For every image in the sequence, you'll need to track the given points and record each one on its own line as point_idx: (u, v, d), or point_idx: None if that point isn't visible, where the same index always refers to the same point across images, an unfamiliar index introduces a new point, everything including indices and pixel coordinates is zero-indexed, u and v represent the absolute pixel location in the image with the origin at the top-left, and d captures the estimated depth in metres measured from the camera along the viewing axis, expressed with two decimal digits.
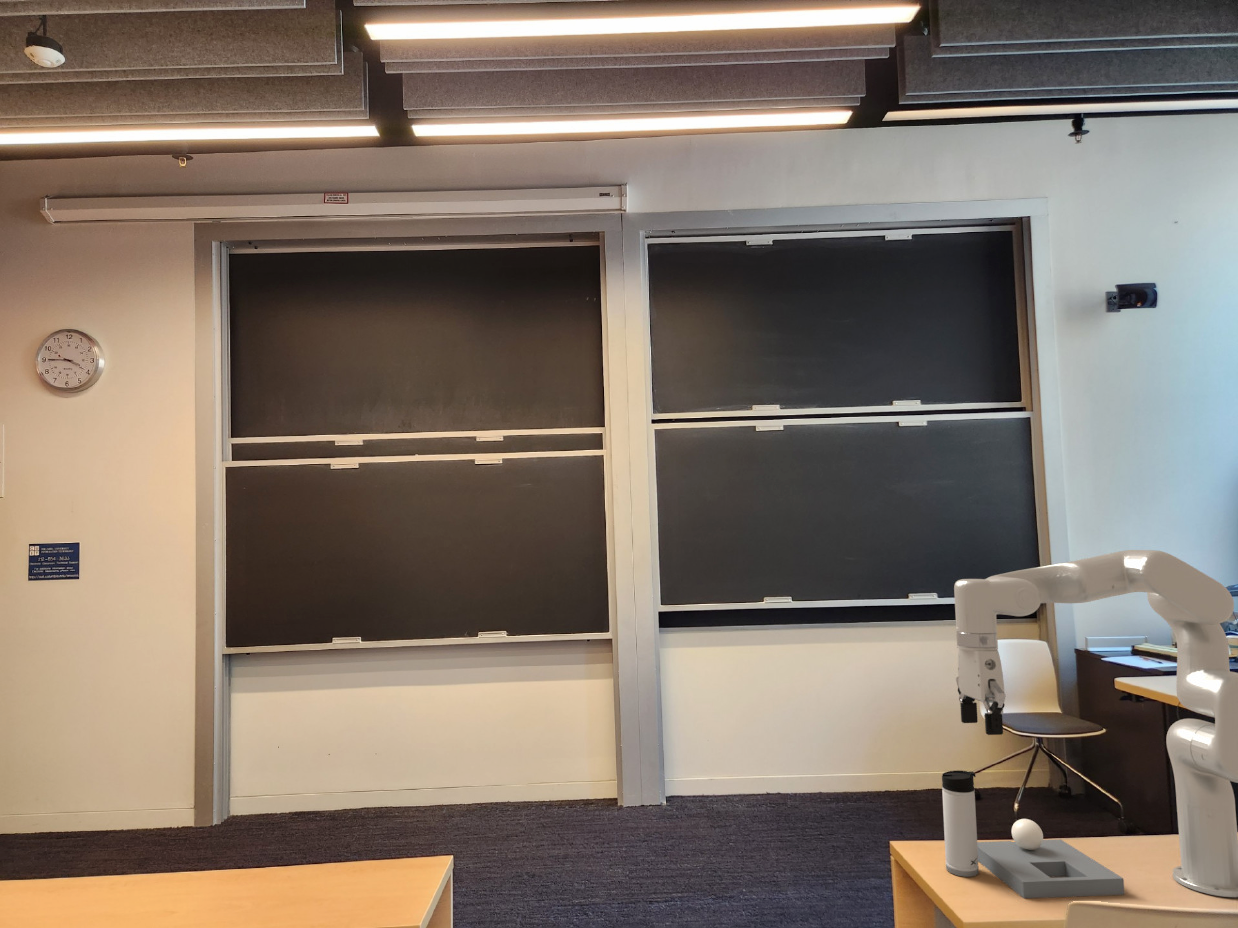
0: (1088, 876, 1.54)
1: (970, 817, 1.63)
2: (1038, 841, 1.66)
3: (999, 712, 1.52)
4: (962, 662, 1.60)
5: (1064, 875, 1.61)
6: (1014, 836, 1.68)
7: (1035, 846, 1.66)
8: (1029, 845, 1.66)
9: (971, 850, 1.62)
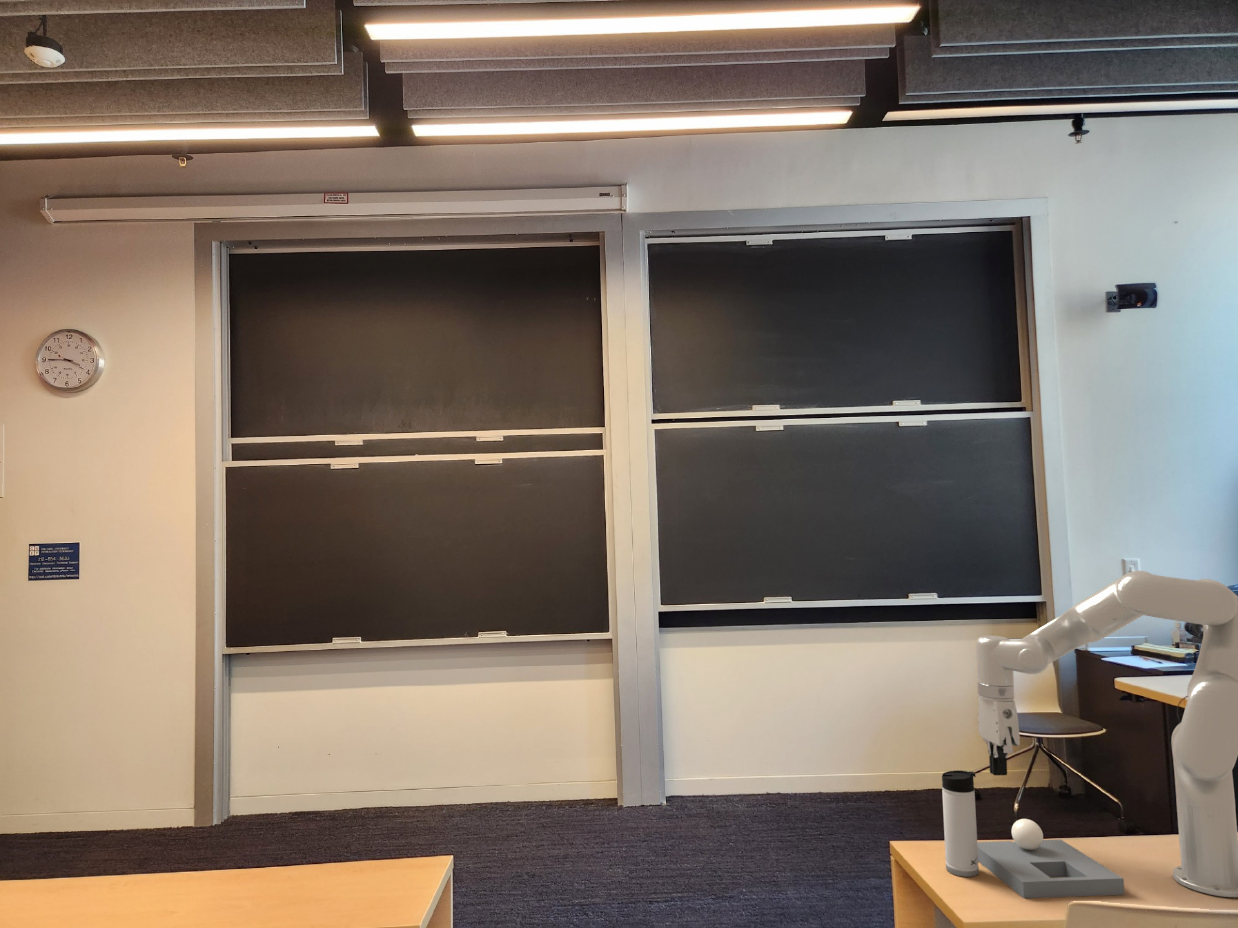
0: (1088, 876, 1.54)
1: (970, 817, 1.63)
2: (1038, 841, 1.66)
3: None
4: (982, 709, 1.81)
5: (1064, 875, 1.61)
6: (1014, 836, 1.68)
7: (1035, 846, 1.66)
8: (1029, 845, 1.66)
9: (971, 850, 1.62)
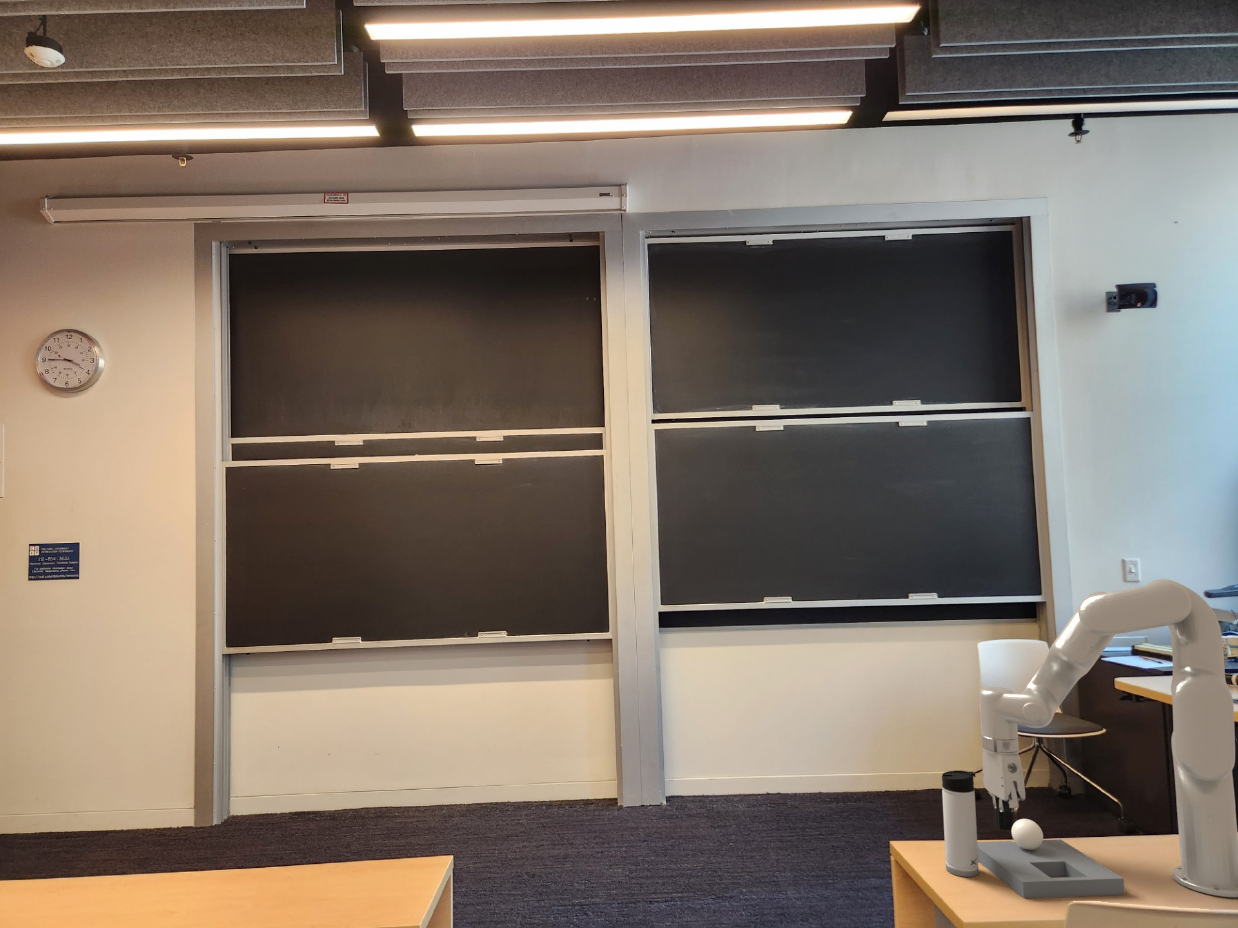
0: (1088, 876, 1.54)
1: (970, 817, 1.63)
2: (1038, 841, 1.66)
3: None
4: (987, 762, 1.80)
5: (1064, 875, 1.61)
6: (1014, 836, 1.68)
7: (1035, 846, 1.66)
8: (1029, 845, 1.66)
9: (971, 850, 1.62)
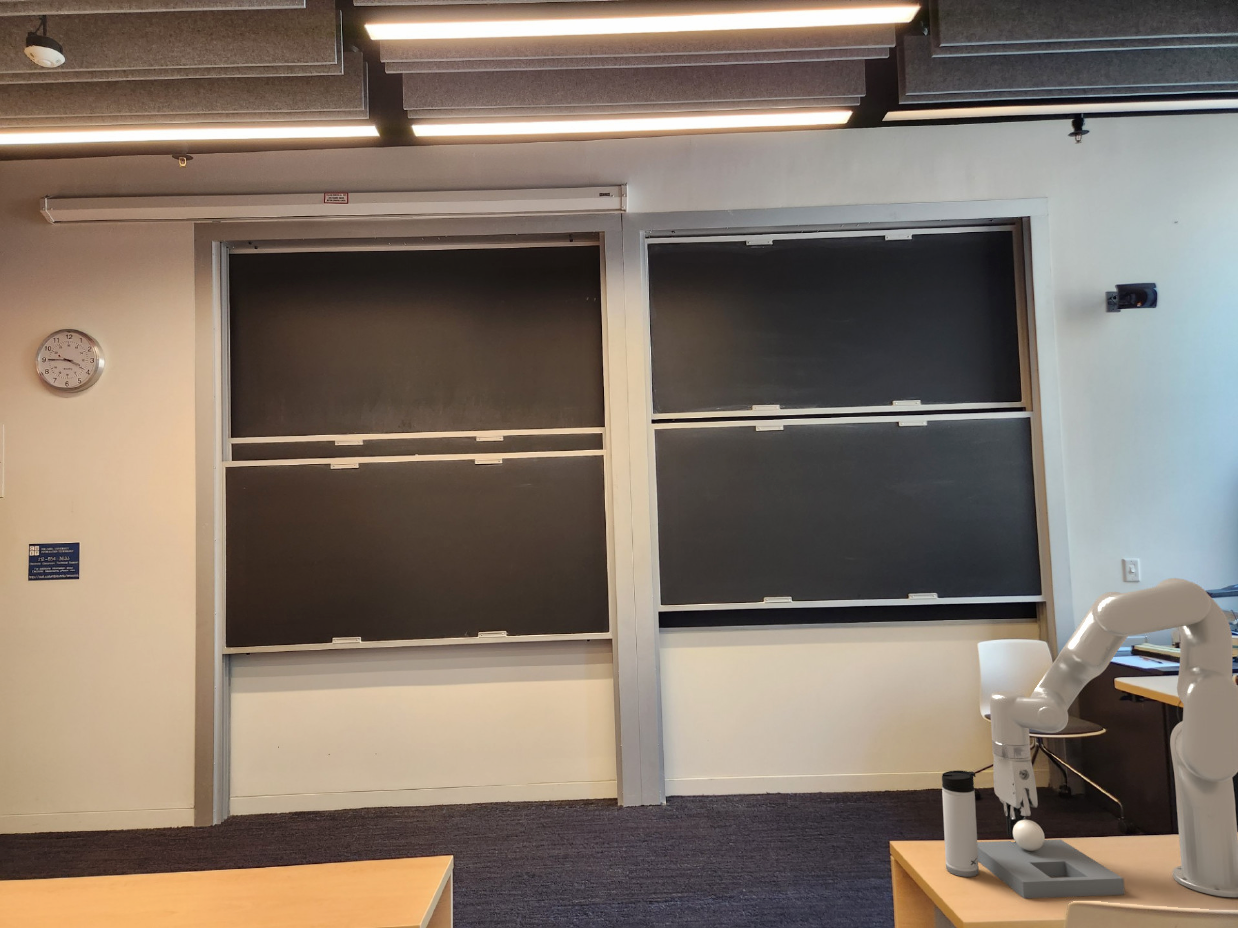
0: (1088, 876, 1.54)
1: (970, 817, 1.63)
2: (1040, 843, 1.65)
3: None
4: (998, 768, 1.75)
5: (1064, 875, 1.61)
6: (1015, 837, 1.68)
7: (1036, 848, 1.65)
8: (1030, 846, 1.66)
9: (971, 850, 1.62)
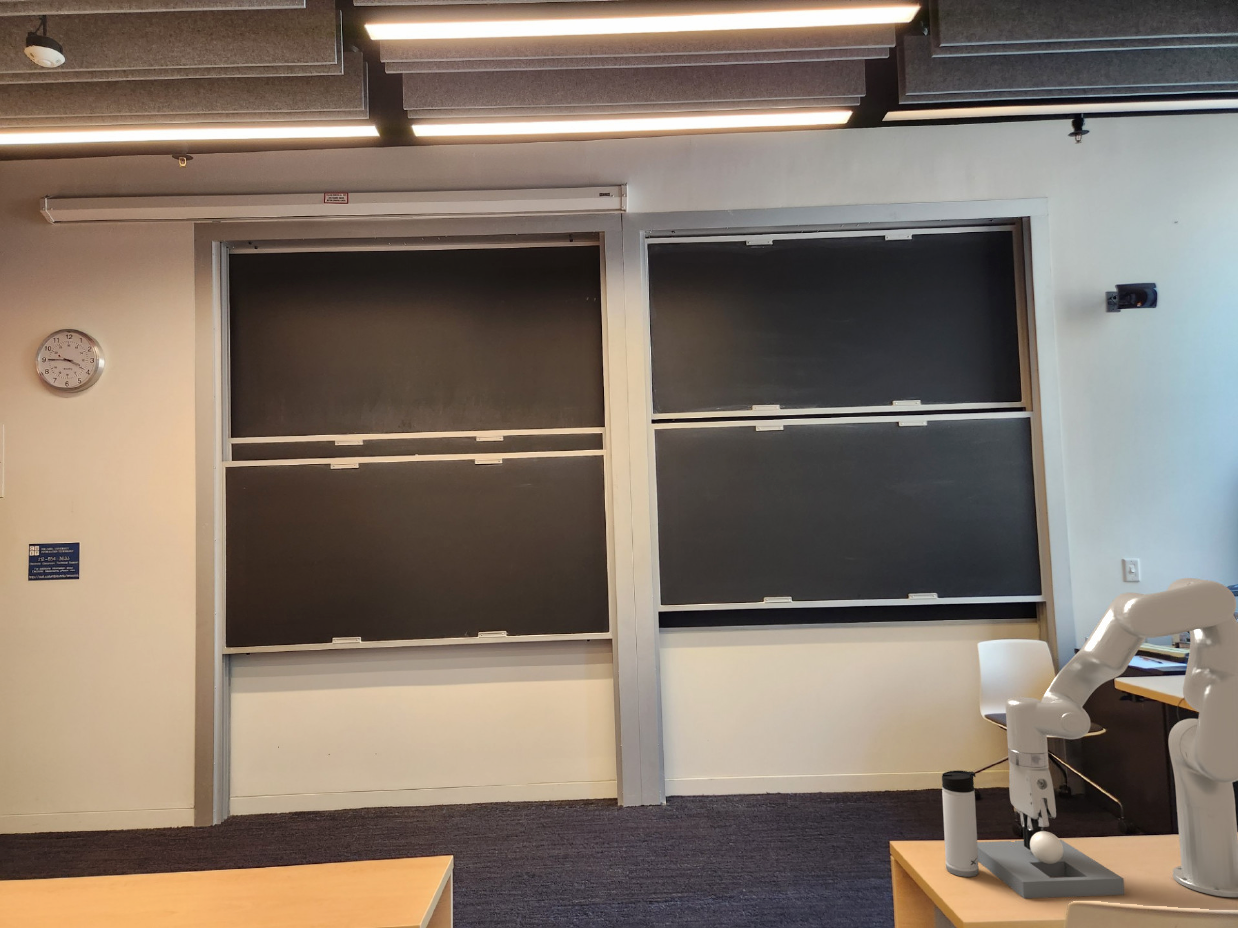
0: (1088, 876, 1.54)
1: (970, 817, 1.63)
2: (1057, 860, 1.59)
3: None
4: (1014, 777, 1.69)
5: (1064, 875, 1.61)
6: (1032, 849, 1.61)
7: (1052, 863, 1.60)
8: (1046, 862, 1.60)
9: (971, 850, 1.62)
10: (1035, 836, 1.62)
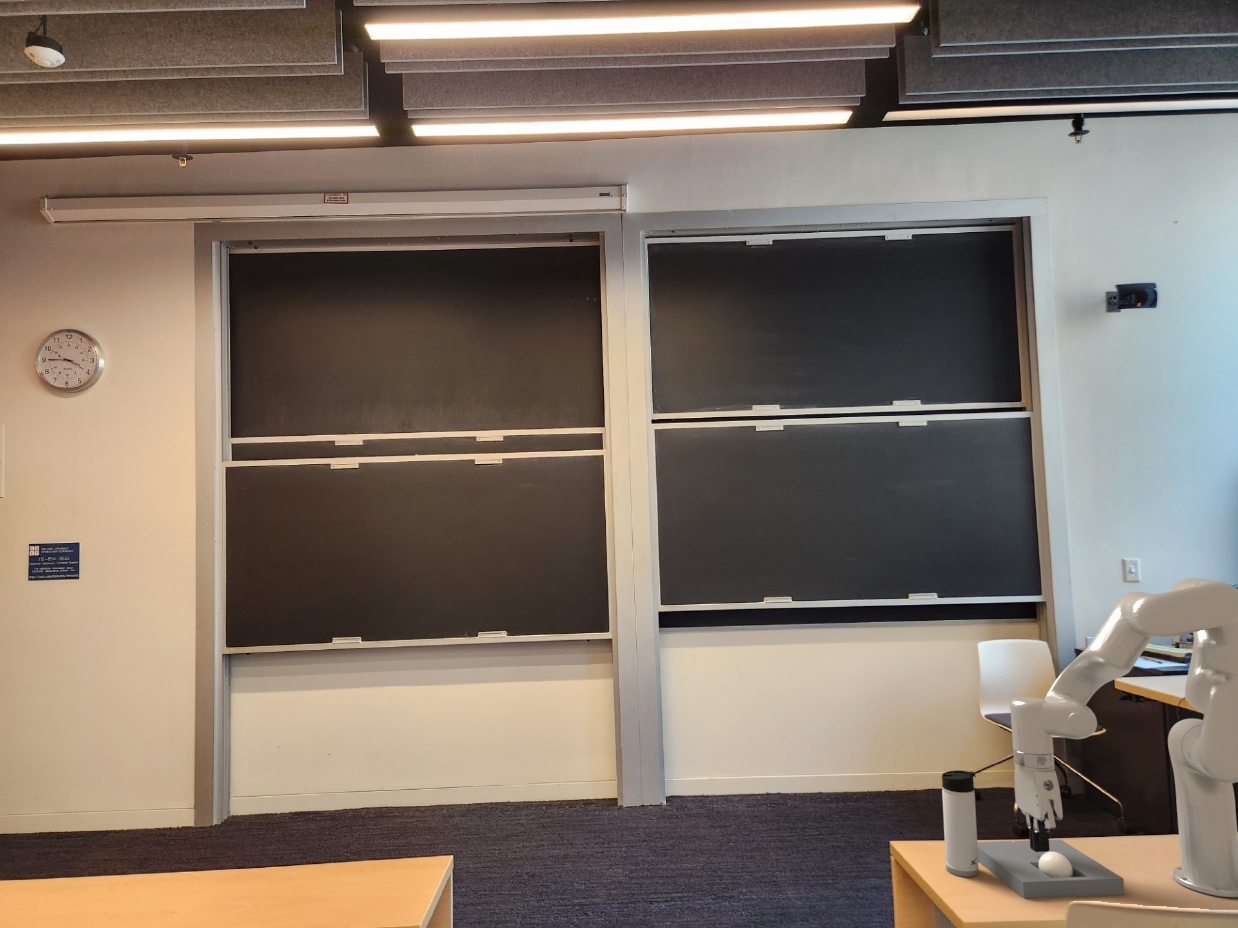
0: (1088, 876, 1.54)
1: (970, 817, 1.63)
2: None
3: None
4: (1020, 778, 1.67)
5: None
6: (1040, 868, 1.59)
7: None
8: None
9: (971, 850, 1.62)
10: (1050, 867, 1.57)
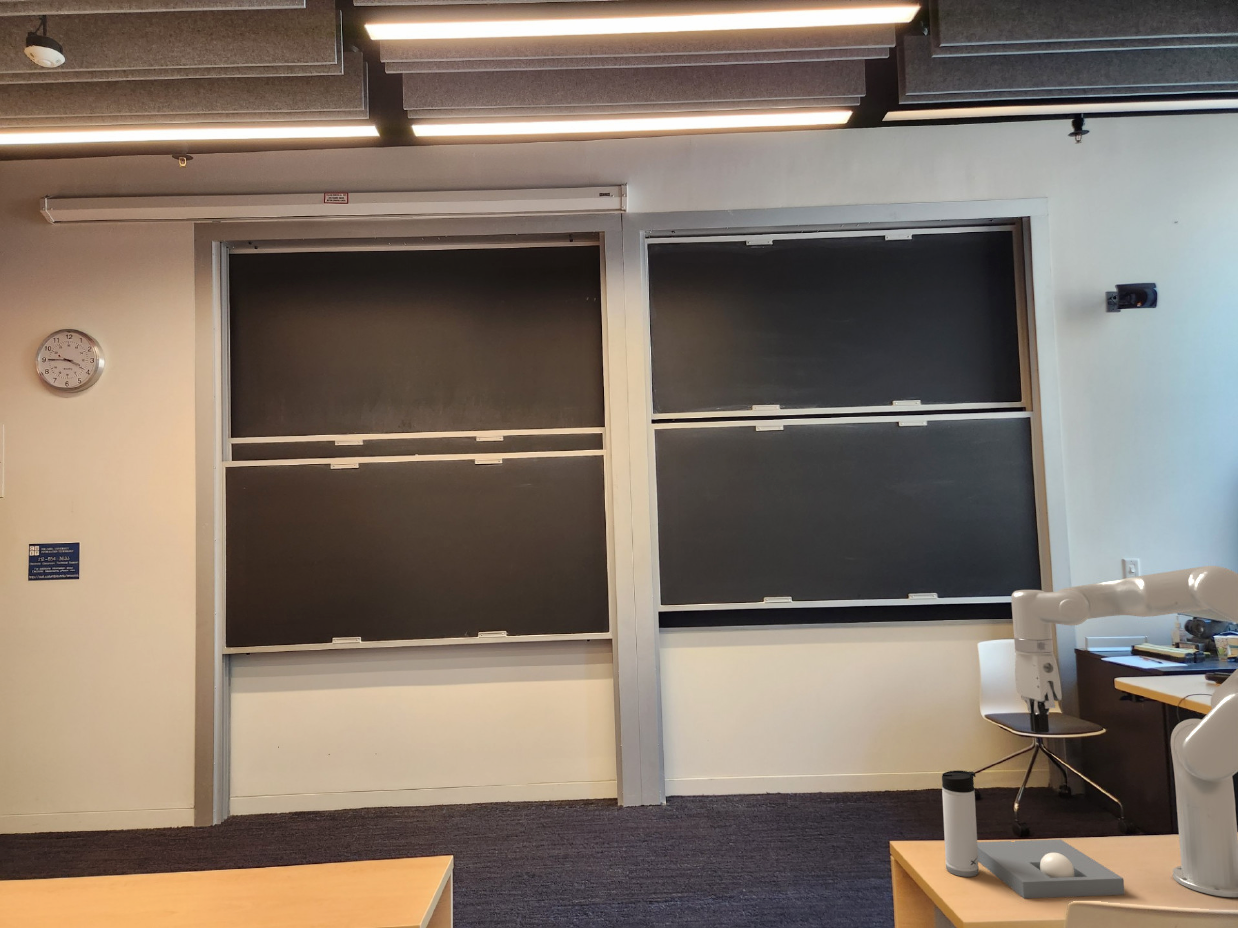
0: (1088, 876, 1.54)
1: (970, 817, 1.63)
2: None
3: None
4: (1020, 665, 1.76)
5: None
6: (1041, 869, 1.58)
7: None
8: None
9: (971, 850, 1.62)
10: (1052, 870, 1.56)
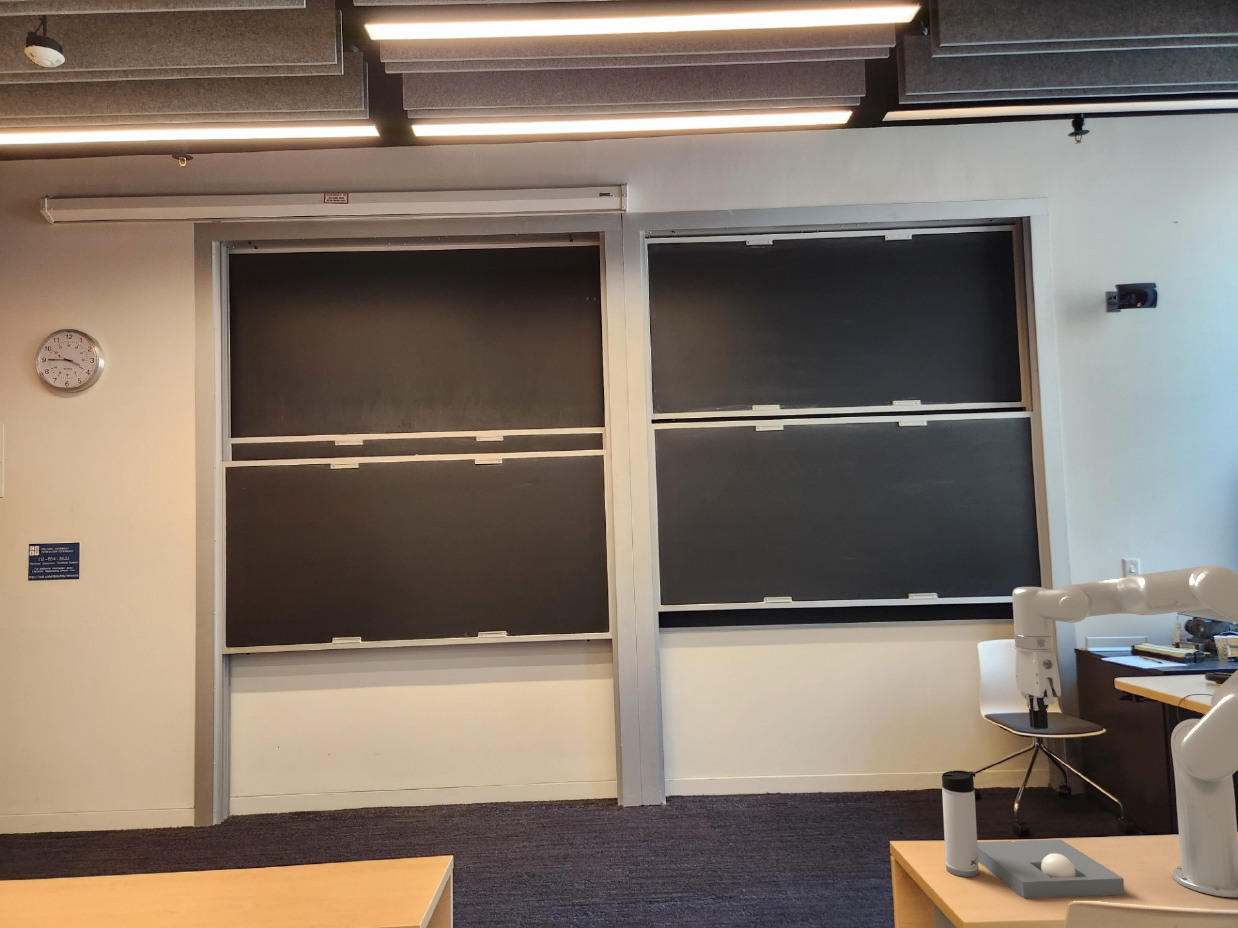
0: (1088, 876, 1.54)
1: (970, 817, 1.63)
2: None
3: None
4: (1020, 662, 1.77)
5: None
6: (1042, 870, 1.58)
7: None
8: None
9: (971, 850, 1.62)
10: (1054, 872, 1.55)
